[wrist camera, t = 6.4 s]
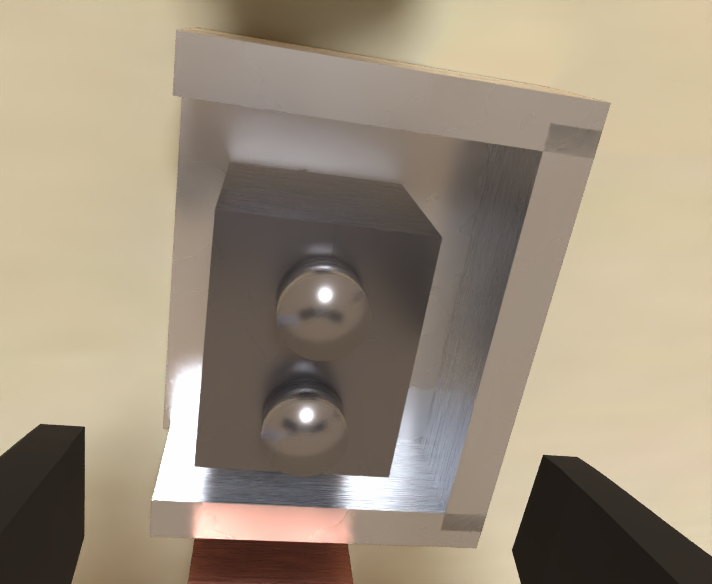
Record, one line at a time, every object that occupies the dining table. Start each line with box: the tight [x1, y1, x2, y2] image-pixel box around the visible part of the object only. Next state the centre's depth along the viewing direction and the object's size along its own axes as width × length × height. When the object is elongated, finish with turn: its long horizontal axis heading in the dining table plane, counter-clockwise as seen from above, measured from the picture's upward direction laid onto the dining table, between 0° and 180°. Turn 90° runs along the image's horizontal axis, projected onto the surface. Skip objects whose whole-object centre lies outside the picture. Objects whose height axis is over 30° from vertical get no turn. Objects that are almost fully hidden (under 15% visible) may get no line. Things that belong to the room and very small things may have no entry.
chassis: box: [150, 28, 610, 584], centre depth 18 cm, size 9×26×6 cm, turn 171°
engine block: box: [194, 161, 442, 478], centre depth 15 cm, size 4×6×6 cm
